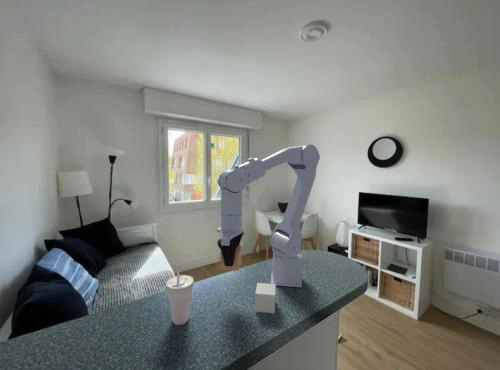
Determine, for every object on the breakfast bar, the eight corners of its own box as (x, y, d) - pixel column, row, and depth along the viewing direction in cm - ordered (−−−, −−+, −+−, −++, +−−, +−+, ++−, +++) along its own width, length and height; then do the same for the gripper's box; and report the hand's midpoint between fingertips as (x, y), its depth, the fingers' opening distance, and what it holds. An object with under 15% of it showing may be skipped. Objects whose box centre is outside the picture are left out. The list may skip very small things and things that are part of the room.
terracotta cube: (241, 262, 64) (241, 246, 64) (238, 270, 59) (238, 253, 59) (224, 261, 65) (224, 244, 64) (220, 269, 60) (220, 251, 59)
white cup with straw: (160, 322, 52) (159, 266, 51) (180, 307, 58) (179, 256, 56) (180, 333, 49) (179, 273, 48) (200, 315, 55) (199, 261, 53)
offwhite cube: (275, 301, 61) (275, 284, 60) (274, 313, 56) (275, 295, 55) (257, 299, 61) (257, 282, 61) (255, 311, 57) (255, 293, 56)
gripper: (223, 207, 68) (223, 249, 69) (209, 219, 54) (209, 272, 55) (246, 208, 67) (245, 251, 69) (237, 221, 53) (237, 274, 54)
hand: (231, 261), depth 62 cm, fingers closed on terracotta cube, 5 cm apart
